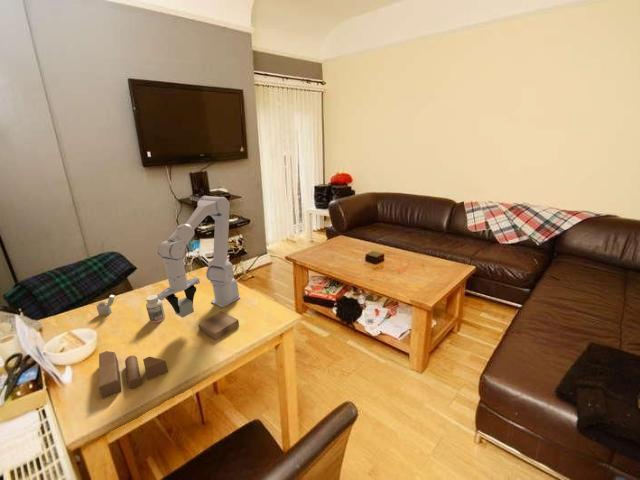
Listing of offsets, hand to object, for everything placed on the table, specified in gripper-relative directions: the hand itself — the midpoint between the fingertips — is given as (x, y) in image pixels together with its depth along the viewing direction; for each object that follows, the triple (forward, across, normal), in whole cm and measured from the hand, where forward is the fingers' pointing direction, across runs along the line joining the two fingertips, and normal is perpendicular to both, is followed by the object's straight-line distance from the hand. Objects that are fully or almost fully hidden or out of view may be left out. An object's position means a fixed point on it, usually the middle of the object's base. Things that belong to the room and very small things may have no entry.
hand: (184, 308), depth 113 cm
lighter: (+9, +12, -37) cm, 40 cm away
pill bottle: (+9, +3, -16) cm, 18 cm away
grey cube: (+2, 0, 0) cm, 2 cm away
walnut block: (+9, -7, +9) cm, 15 cm away
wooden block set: (+9, +21, +5) cm, 24 cm away
